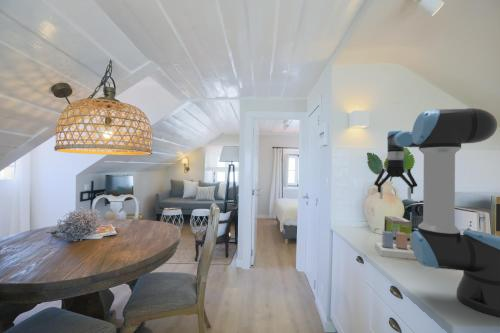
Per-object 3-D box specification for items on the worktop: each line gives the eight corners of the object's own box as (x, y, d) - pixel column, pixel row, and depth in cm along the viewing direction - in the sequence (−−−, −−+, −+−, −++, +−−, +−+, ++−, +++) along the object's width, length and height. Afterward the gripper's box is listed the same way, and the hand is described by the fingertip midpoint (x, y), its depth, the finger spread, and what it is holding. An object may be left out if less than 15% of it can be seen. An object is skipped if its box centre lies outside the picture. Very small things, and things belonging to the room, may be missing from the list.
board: (431, 261, 118) (431, 254, 118) (381, 256, 124) (381, 250, 124) (419, 251, 132) (419, 245, 132) (375, 247, 137) (375, 242, 137)
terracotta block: (407, 248, 125) (407, 234, 125) (398, 247, 126) (398, 233, 126) (404, 245, 129) (404, 232, 129) (395, 245, 130) (396, 232, 130)
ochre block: (421, 249, 124) (421, 235, 124) (412, 248, 125) (412, 235, 125) (418, 247, 127) (418, 233, 128) (409, 246, 129) (409, 233, 129)
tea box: (411, 247, 139) (412, 221, 139) (392, 246, 141) (392, 220, 141) (401, 239, 153) (401, 216, 153) (383, 238, 155) (383, 215, 155)
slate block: (393, 247, 127) (393, 233, 127) (384, 246, 128) (384, 232, 128) (390, 244, 131) (390, 231, 131) (382, 244, 132) (382, 231, 132)
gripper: (418, 160, 132) (418, 199, 132) (368, 159, 138) (368, 197, 138) (425, 159, 125) (424, 201, 125) (371, 159, 131) (371, 199, 131)
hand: (394, 199), depth 132 cm, fingers open, 13 cm apart
